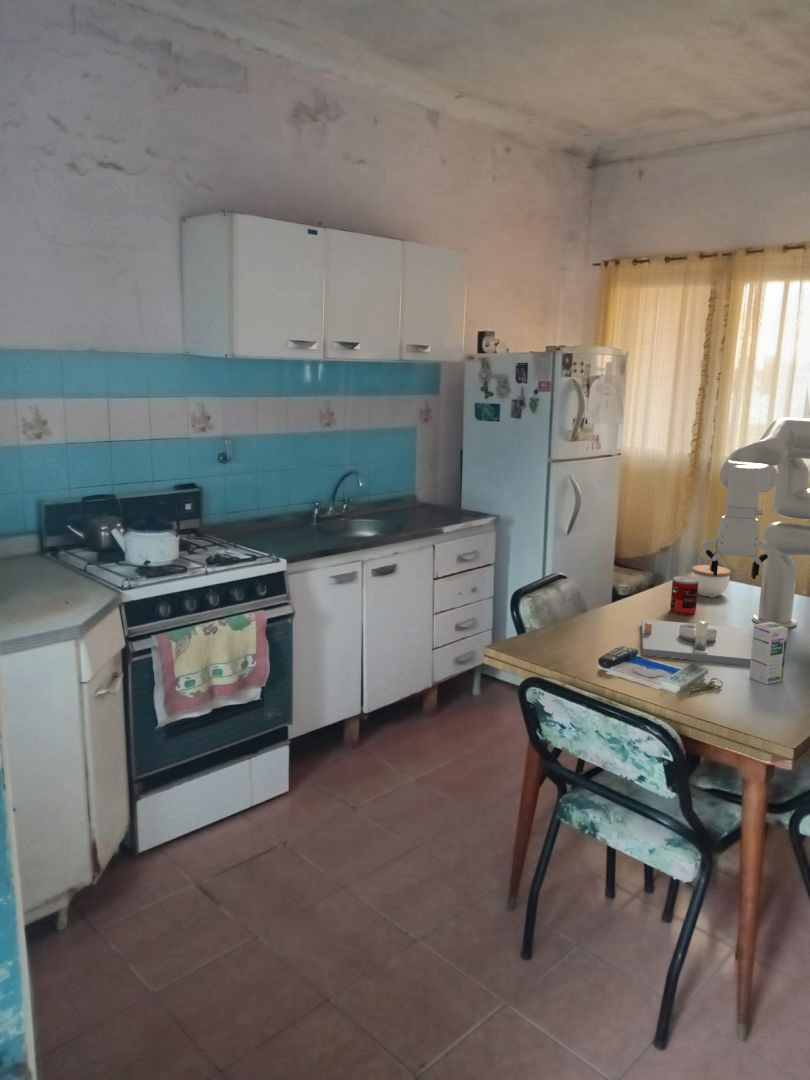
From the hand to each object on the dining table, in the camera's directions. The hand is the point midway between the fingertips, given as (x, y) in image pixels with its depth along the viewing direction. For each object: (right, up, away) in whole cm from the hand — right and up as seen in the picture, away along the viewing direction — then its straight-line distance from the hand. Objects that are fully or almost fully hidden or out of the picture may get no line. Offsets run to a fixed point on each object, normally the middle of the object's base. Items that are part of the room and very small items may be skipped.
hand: (734, 576), depth 219 cm
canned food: (+2, -14, +48) cm, 50 cm away
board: (-4, -20, +16) cm, 26 cm away
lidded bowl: (+19, -10, +69) cm, 72 cm away
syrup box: (+4, -26, -10) cm, 28 cm away
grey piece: (-5, -19, +12) cm, 23 cm away
